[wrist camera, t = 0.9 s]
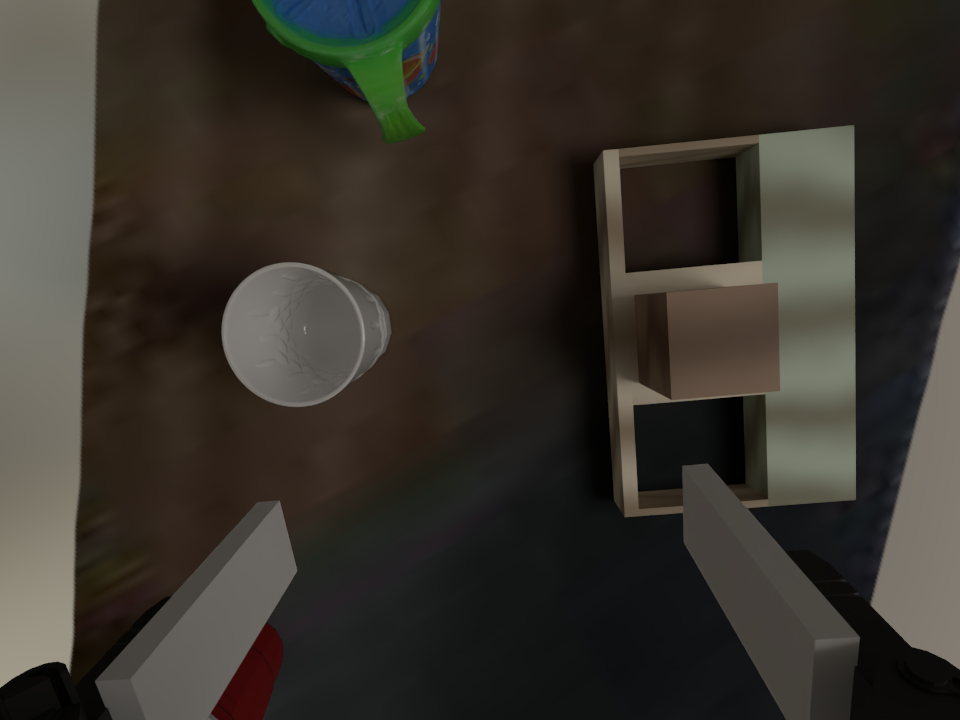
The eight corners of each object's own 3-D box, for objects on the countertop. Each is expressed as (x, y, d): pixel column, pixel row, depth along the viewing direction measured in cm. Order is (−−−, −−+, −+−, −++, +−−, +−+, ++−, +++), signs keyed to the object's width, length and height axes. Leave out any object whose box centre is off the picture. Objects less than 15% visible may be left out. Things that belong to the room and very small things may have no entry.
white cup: (377, 259, 35) (333, 241, 26) (414, 359, 36) (385, 379, 26) (279, 295, 36) (198, 291, 26) (318, 393, 37) (253, 426, 27)
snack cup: (288, -53, 33) (200, -210, 23) (439, -84, 33) (415, -257, 23) (333, 178, 35) (269, 126, 25) (477, 152, 34) (471, 88, 24)
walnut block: (727, 375, 33) (780, 391, 27) (638, 383, 33) (671, 400, 27) (724, 286, 32) (778, 282, 26) (634, 295, 32) (666, 292, 26)
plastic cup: (341, 627, 39) (274, 770, 27) (276, 729, 40) (185, 910, 28) (223, 559, 38) (102, 673, 26) (162, 664, 40) (19, 819, 28)
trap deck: (825, 483, 37) (855, 499, 34) (614, 500, 37) (624, 517, 34) (822, 141, 34) (854, 125, 31) (593, 164, 34) (602, 150, 31)
